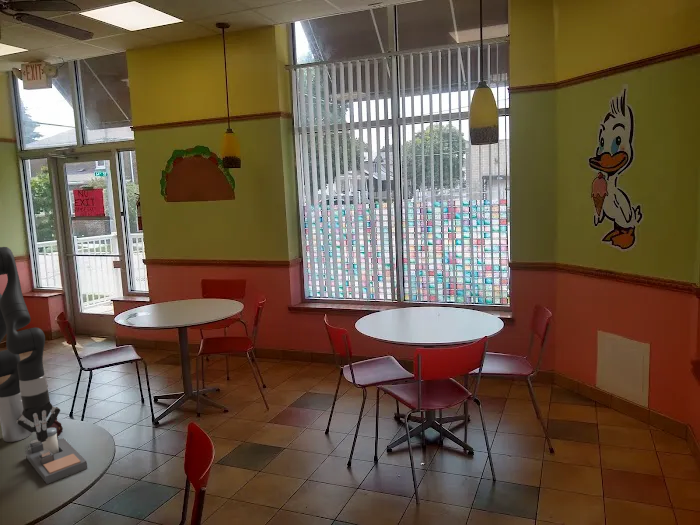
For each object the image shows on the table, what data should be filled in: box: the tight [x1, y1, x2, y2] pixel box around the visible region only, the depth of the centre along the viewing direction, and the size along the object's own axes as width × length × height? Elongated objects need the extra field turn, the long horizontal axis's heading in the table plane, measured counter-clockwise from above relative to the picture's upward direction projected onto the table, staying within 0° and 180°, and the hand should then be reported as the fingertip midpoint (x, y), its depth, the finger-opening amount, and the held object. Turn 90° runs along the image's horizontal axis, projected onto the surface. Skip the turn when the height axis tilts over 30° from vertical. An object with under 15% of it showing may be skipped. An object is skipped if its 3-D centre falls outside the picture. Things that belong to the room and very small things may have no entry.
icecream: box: [48, 417, 64, 438], centre depth 202 cm, size 7×7×15 cm
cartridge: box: [42, 428, 59, 455], centre depth 185 cm, size 5×5×10 cm
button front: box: [40, 449, 50, 459], centre depth 179 cm, size 2×2×3 cm
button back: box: [30, 438, 41, 447], centre depth 188 cm, size 2×2×3 cm
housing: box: [25, 437, 88, 485], centre depth 182 cm, size 25×12×4 cm, turn 43°
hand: (42, 441), depth 178 cm, fingers closed
